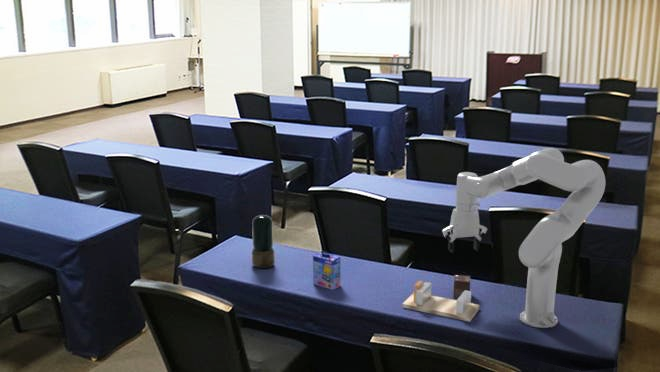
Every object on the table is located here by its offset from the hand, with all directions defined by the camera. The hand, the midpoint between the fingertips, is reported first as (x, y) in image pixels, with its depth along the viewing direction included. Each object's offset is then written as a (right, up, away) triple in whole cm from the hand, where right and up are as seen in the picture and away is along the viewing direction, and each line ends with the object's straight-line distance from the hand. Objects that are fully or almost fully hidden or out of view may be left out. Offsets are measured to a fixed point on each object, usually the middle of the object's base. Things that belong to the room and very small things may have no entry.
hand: (463, 250), depth 250 cm
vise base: (-10, -20, -6) cm, 23 cm away
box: (0, -18, +4) cm, 18 cm away
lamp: (-78, -10, +34) cm, 86 cm away
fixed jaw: (-2, -20, -10) cm, 22 cm away
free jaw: (-16, -18, -3) cm, 24 cm away
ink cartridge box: (-51, -15, +14) cm, 55 cm away
